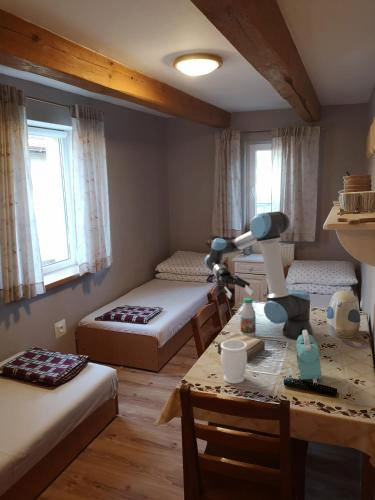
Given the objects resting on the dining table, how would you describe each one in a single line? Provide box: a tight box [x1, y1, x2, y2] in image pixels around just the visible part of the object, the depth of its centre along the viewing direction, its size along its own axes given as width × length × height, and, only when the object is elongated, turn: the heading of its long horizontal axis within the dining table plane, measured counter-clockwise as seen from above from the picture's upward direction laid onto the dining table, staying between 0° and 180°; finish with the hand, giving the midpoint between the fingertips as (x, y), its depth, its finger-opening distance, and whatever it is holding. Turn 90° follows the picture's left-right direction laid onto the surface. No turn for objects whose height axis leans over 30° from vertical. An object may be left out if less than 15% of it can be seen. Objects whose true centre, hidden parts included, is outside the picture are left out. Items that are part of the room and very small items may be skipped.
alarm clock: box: [296, 330, 323, 384], centre depth 157 cm, size 17×10×20 cm, turn 168°
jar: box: [220, 339, 248, 384], centre depth 159 cm, size 11×10×15 cm
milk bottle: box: [240, 297, 257, 338], centre depth 202 cm, size 8×8×20 cm
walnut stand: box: [217, 332, 266, 363], centre depth 185 cm, size 16×16×5 cm
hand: (241, 295), depth 203 cm, fingers open, 13 cm apart
